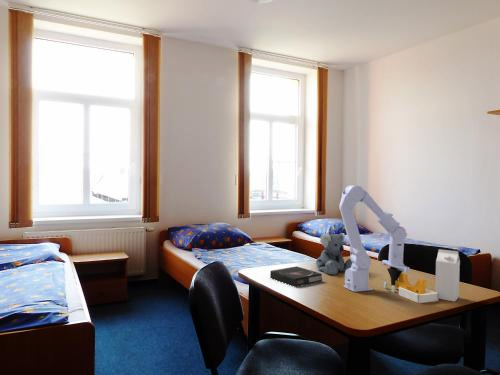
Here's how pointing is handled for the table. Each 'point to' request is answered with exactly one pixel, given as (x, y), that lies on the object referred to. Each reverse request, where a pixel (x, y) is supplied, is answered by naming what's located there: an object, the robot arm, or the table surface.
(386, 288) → the small blocks
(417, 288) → the pipe clamp
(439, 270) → the milk carton
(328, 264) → the koala plush
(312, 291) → the table surface
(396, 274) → the robot arm
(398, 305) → the table surface
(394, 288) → the clips
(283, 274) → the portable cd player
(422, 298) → the end holder
